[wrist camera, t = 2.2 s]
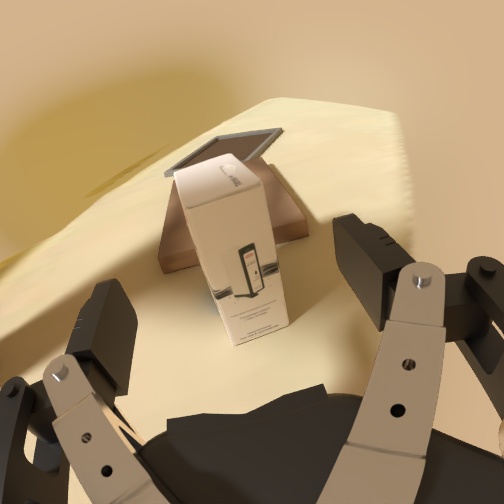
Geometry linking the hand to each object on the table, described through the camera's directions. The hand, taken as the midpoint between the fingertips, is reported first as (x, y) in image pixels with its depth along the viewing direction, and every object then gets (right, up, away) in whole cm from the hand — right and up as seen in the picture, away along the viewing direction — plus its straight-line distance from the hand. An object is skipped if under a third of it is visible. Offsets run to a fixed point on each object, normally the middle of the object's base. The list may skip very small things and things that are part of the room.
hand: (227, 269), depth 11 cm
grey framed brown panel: (-4, +24, +62) cm, 67 cm away
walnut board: (-3, +7, +34) cm, 34 cm away
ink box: (0, -4, +16) cm, 16 cm away
